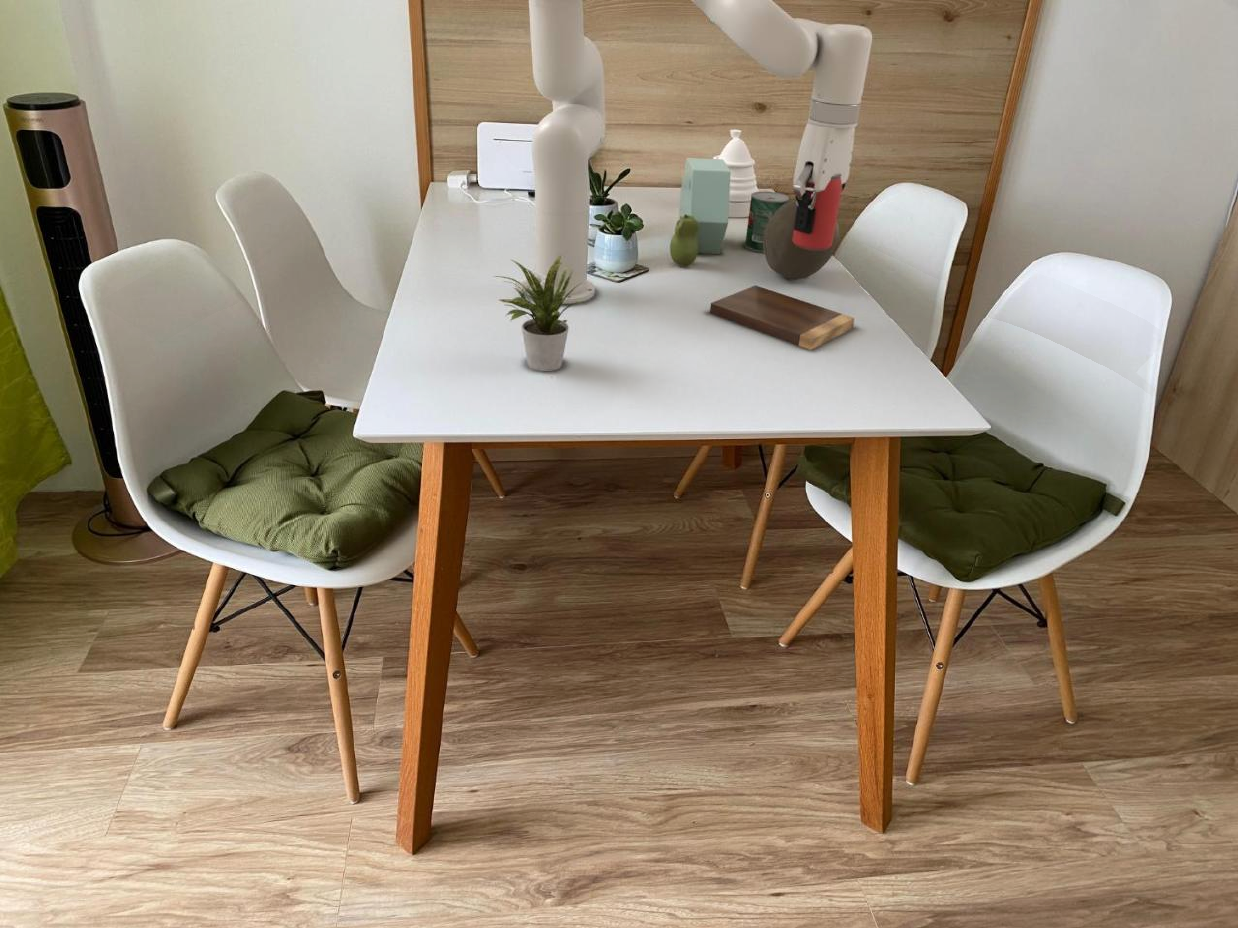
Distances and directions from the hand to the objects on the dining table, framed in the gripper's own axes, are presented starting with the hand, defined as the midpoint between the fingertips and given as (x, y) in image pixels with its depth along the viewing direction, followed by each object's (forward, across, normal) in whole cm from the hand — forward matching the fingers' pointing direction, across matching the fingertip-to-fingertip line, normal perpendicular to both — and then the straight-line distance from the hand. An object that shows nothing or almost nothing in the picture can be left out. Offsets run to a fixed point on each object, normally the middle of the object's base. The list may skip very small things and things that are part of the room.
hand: (814, 226), depth 150 cm
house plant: (+18, +43, -20) cm, 51 cm away
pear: (+18, -10, -34) cm, 39 cm away
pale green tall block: (+18, -22, -38) cm, 48 cm away
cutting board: (+18, 0, -4) cm, 18 cm away
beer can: (+3, 0, 0) cm, 3 cm away
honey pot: (+18, -51, -51) cm, 75 cm away
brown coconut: (+18, -22, -14) cm, 32 cm away
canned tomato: (+18, -33, -30) cm, 48 cm away
